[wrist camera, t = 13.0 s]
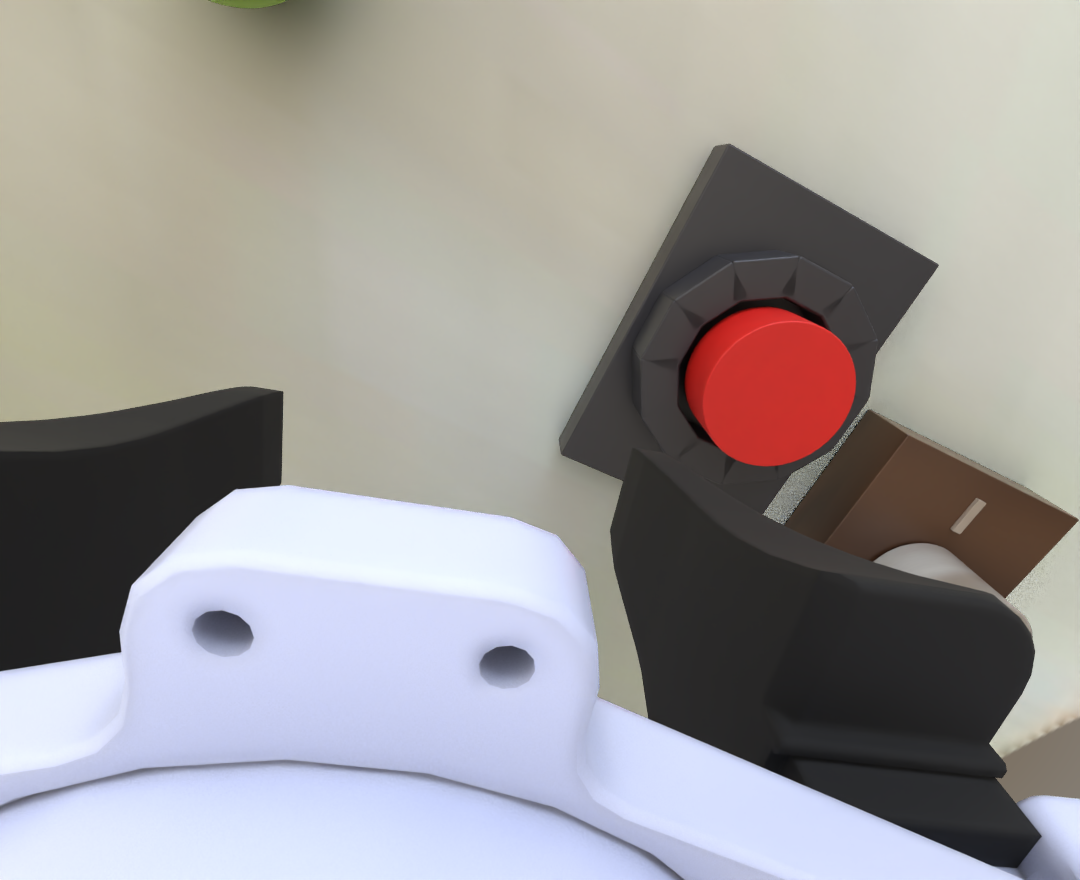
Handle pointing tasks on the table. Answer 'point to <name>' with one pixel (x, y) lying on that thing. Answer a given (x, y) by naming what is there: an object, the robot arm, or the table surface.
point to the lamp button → (770, 385)
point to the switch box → (726, 288)
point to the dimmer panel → (927, 505)
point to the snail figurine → (248, 3)
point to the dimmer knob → (939, 568)
